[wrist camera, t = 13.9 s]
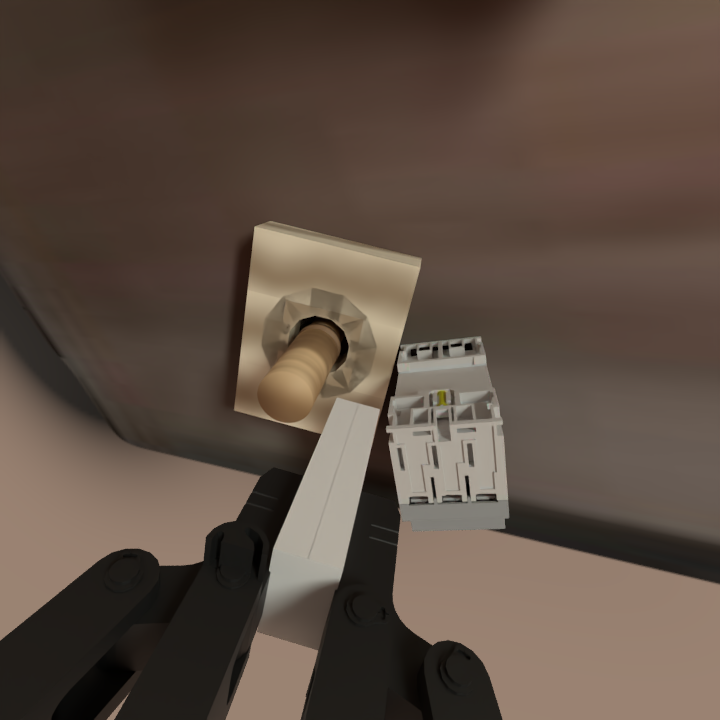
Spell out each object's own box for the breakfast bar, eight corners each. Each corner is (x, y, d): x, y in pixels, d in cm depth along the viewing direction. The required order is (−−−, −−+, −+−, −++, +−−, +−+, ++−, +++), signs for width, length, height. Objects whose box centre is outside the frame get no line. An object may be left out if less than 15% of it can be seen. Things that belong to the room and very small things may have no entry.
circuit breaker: (419, 467, 49) (413, 584, 36) (400, 345, 44) (385, 426, 30) (491, 463, 48) (513, 583, 34) (480, 336, 42) (502, 417, 29)
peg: (310, 306, 44) (260, 364, 31) (351, 317, 44) (318, 379, 31) (303, 345, 45) (253, 414, 33) (343, 355, 45) (308, 429, 33)
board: (270, 221, 41) (254, 226, 38) (421, 258, 40) (420, 267, 37) (249, 392, 49) (234, 410, 45) (376, 426, 48) (371, 447, 44)
